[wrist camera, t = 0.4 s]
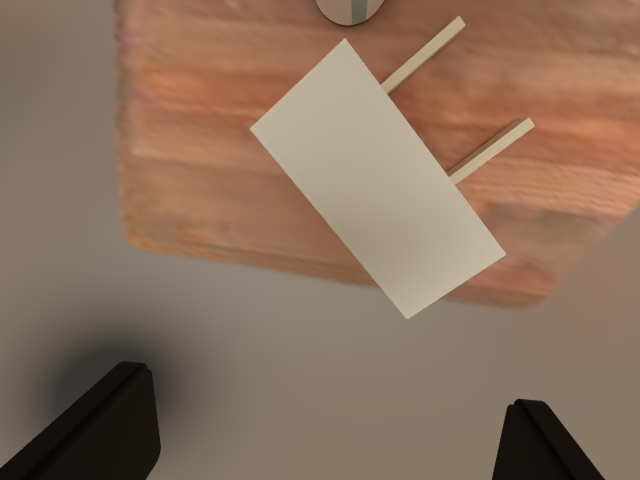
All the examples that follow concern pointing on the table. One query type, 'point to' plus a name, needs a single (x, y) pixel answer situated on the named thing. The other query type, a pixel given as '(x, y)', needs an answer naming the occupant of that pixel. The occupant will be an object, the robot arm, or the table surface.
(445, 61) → the table surface
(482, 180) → the table surface
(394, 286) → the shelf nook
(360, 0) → the can
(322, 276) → the table surface
